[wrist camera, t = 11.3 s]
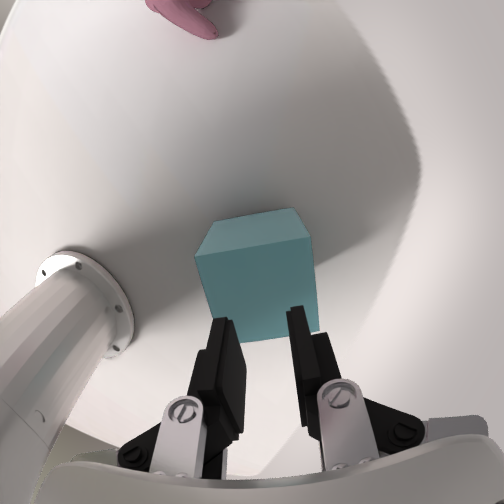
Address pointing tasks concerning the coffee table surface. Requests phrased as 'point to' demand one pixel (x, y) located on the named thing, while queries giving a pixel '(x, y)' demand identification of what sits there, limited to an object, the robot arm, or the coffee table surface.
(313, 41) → the coffee table surface
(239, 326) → the teal block
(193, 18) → the video game controller
